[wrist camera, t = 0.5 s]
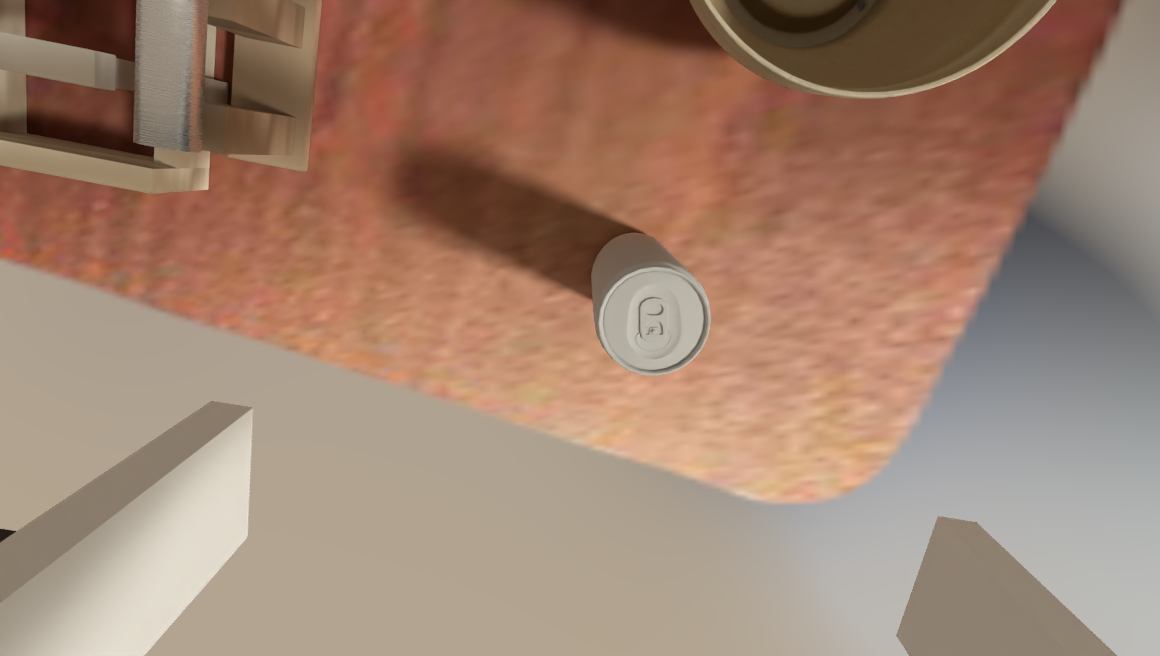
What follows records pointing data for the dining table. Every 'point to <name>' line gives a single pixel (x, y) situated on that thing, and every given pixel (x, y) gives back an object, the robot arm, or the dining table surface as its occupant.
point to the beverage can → (647, 306)
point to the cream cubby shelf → (266, 82)
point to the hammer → (170, 73)
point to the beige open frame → (10, 56)
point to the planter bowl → (866, 40)
